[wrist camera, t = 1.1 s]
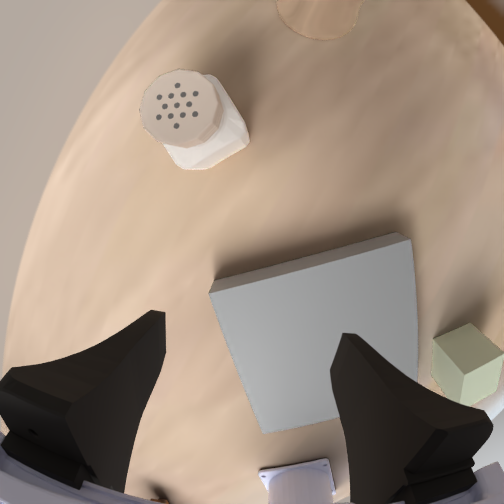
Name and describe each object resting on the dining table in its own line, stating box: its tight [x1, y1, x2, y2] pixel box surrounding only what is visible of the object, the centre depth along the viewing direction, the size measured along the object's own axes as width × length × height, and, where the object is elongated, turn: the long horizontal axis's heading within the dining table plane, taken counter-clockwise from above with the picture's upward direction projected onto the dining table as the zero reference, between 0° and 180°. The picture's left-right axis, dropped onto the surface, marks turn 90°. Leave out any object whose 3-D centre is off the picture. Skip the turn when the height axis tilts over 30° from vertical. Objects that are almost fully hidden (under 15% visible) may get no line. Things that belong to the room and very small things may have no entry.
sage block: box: [431, 323, 504, 406], centre depth 21 cm, size 4×4×6 cm
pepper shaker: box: [139, 69, 250, 170], centre depth 15 cm, size 4×4×10 cm
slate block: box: [209, 232, 418, 434], centre depth 22 cm, size 14×14×3 cm
